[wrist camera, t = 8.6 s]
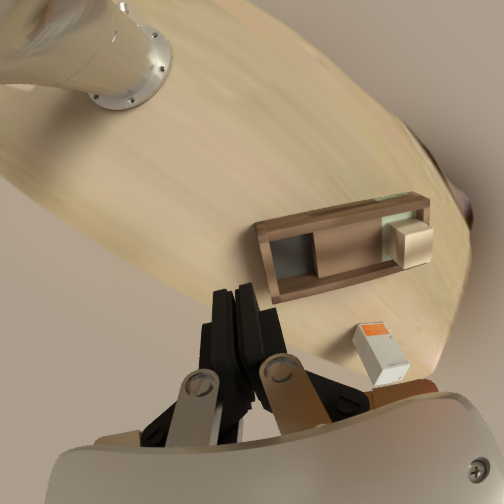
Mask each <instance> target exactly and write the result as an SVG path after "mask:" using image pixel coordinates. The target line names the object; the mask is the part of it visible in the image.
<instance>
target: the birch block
mask: <svg viewBox="0 0 504 504" xmlns="http://www.w3.org/2000/svg"><path fill="white" fill-rule="evenodd" d="M432 243H433V228H432V227H430V226H429V225H427V224H425V223H424V222H422V221H420V220H419V219H417V218H415V217H411V218H406V219H401V220H397V221H392V222H387V254H388V255H389V256H390V257H391V258H392V259H393V260H394V261H395V262H396V263H397V264H398V265H399V266H400V267H402V268H403V269H407V268H410V267H413V266H417V265H420V264H423V263H426V262H430V261H431V253H432Z"/></svg>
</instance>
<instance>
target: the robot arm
mask: <svg viewBox="0 0 504 504" xmlns="http://www.w3.org/2000/svg"><path fill="white" fill-rule="evenodd" d="M156 36H157V37H156ZM155 37H156V38H155ZM171 63H172V51H171V47H170V44H169V42H168V40H167V39H166V37H165V36H164V35H163V34H162V33H161V32H160V31H158V30H157V29H155V28H153V27H150V26H146V25H136V24H135V23H134V22H133V21H132V20H131V19H130V18H129V17H128V5H127V3H119V4H117V5H116V4H115V3H113V1H111V0H0V85H4V84H31V85H41V86H48V87H55V88H62V89H68V90H74V91H80V92H85V93H88V95H89V97H90V98H91V99H92V101H93V102H94V103H96V104H97V105H99V106H101V107H103V108H106V109H111V110H124V109H129V108H132V107H135V106H138V105H139V104H141V103H143V102H145V101H146V100H148V99H149V98H150V97H152V96H153V95H154V94H155V93H156V92H157V91H158V90H159V88H160V87H161V86H162V84H163V83H164V82H165V80H166V78H167V76H168V74H169V71H170V68H171ZM163 69H165V71H164V72H162V70H163ZM98 96H99V98H98ZM132 100H134V102H133V103H132ZM235 300H236V302H235ZM254 391H255V392H254ZM255 393H256V395H257V397H258V400H260V401H261V404H262V406H263V408H264V409H265V410H267V411H269V412H271V413H273V414H274V417H275V420H276V422H277V425H278V428H279V430H280V433H281V436H278V437H273V438H267V439H261V440H255V441H248V442H242V432H243V418H242V417H243V416H244V415H245V414H246V413H247V412H248V410H250V409H252V407H251V402H254V401H255ZM45 504H504V456H503V454H502V452H501V450H500V447H499V445H498V443H497V441H496V439H495V437H494V435H493V434H492V431H491V430H490V428H489V426H488V425H487V423H486V421H485V420H484V418H483V417H482V415H481V414H480V412H479V411H478V410H477V408H476V407H475V406H474V405H473V404H472V402H470V401H469V400H468V399H467V398H466V397H464V396H463V395H461V394H458V393H453V392H439V391H438V388H437V386H436V385H435V383H433V382H432V381H431V380H428V379H417V380H413V381H409V382H404V383H399V384H394V385H389V386H384V387H378V388H373V389H372V391H369V392H362V391H360V390H357V389H355V388H352V387H349V386H346V385H343V384H341V383H338V382H335V381H332V380H329V379H327V378H324V377H321V376H319V375H317V374H314V373H312V372H309V371H306V370H304V368H303V366H302V364H301V362H300V360H299V359H298V358H297V357H295V356H294V355H291V354H287V350H286V346H285V342H284V338H283V334H282V330H281V326H280V323H279V319H278V315H277V311H276V307H275V308H271V309H267V310H263V311H260V310H259V306H258V303H257V300H256V296H255V293H254V289H253V286H252V283H247V284H243V285H239V289H236V290H235V299H234V296H233V293H232V291H228V292H227V289H222V290H218V291H214V292H213V306H212V322H210V323H205V324H203V325H202V331H201V345H200V358H199V370H196V371H194V372H191V373H190V374H189V375H187V377H186V378H185V379H184V380H183V382H182V384H181V388H180V392H179V395H178V399H177V401H176V402H175V403H174V404H173V405H172V406H170V407H169V408H168V409H167V410H166V411H165V412H163V413H162V414H161V415H160V416H159V417H158V418H157V419H155V420H154V421H153V422H152V423H151V424H149V425H148V426H147V427H146V428H145V429H144V431H142V432H141V431H139V430H136V431H131V432H125V433H120V434H115V435H109V436H103V437H100V438H98V439H97V440H96V441H95V443H94V445H87V446H81V447H76V448H73V449H70V450H68V451H65V452H64V453H62V454H61V455H60V456H59V457H58V458H57V460H56V462H55V464H54V466H53V469H52V472H51V475H50V479H49V483H48V488H47V493H46V498H45Z"/></svg>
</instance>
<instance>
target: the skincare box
mask: <svg viewBox="0 0 504 504" xmlns="http://www.w3.org/2000/svg"><path fill="white" fill-rule="evenodd" d="M352 342H353V344H354V346H355V348H356V350H357V352H358V354H359V356H360V358H361V360H362V362H363V364H364V366H365V368H366V371H367V373H368V375H369V377H370V379H371V382H372V384H373V385H374V386H375V385H381V384H388V383H392V382H395V381H400V380H402V379H403V377H404V375H405V374H406V372H407V370H408V369H409V367H410V365H411V364H410V362H409V361H408V359H407V357H406V356H405V354H404V353H403V351H402V349H401V348H400V346H399V345H398V343H397V342H396V340H395V338H394V337H393V335H392V334H391V332H390V331H389V329H388V328H387V326H386V325H385V323H384V322H380V323H366V324H357V327H356V330H355V333H354V336H353V338H352Z"/></svg>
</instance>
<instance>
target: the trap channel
mask: <svg viewBox="0 0 504 504" xmlns="http://www.w3.org/2000/svg"><path fill="white" fill-rule="evenodd" d="M411 217H415V218H417V219H419V220H420V221H422V222H424V223H425V224H427V225H429V220H430V199H428V198H426V197H424V196H422V195H420V194H417V193H415V192H408V193H402V194H396V195H391V196H385V197H380V198H374V199H369V200H363V201H358V202H353V203H348V204H343V205H338V206H333V207H328V208H323V209H318V210H313V211H308V212H303V213H298V214H293V215H289V216H284V217H279V218H275V219H270V220H266V221H261V222H256V223H255V227H256V232H257V236H258V241H259V245H260V250H261V254H262V259H263V263H264V268H265V272H266V277H267V281H268V286H269V290H270V295H271V300H272V304H277V303H282V302H286V301H291V300H295V299H299V298H303V297H308V296H312V295H316V294H320V293H324V292H328V291H332V290H336V289H340V288H344V287H347V286H351V285H355V284H358V283H362V282H366V281H369V280H373V279H376V278H380V277H383V276H387V275H390V274H394V273H397V272H400V271H404V270H407V269H410V268H413V267H417V266H420V265H423V264H426V263H427V262H426V263H423V264H420V265H417V266H413V267H410V268H407V269H403V268H402V267H400V266H399V265H398V264H397V263H396V262H395V261H394V260H393V259H392V258H391V257H390V256H389V255H388V254H387V222H392V221H397V220H401V219H406V218H411Z"/></svg>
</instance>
